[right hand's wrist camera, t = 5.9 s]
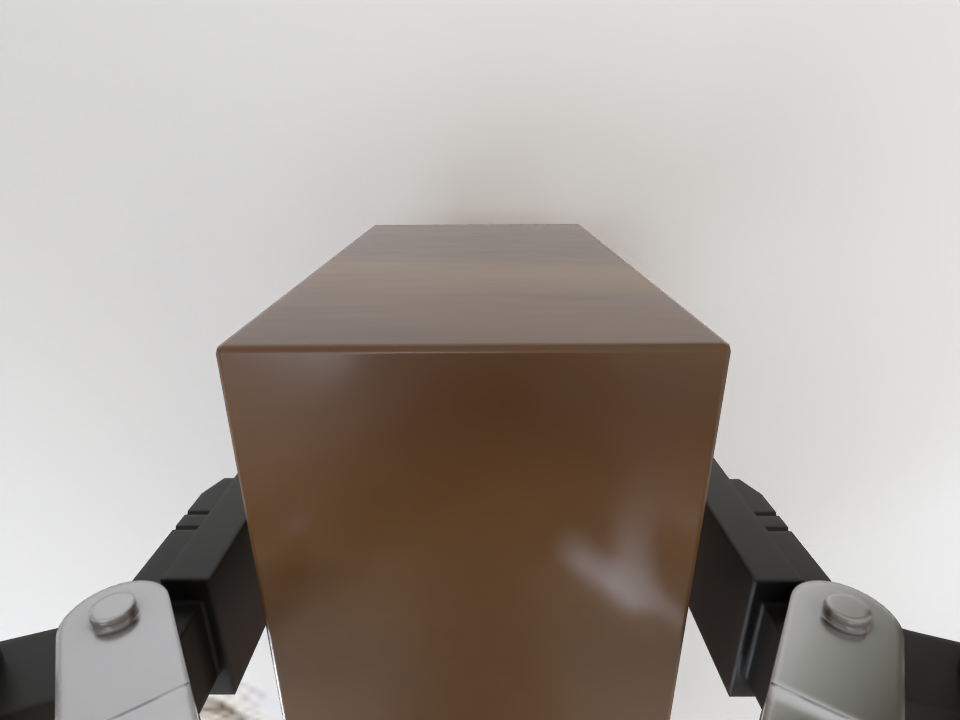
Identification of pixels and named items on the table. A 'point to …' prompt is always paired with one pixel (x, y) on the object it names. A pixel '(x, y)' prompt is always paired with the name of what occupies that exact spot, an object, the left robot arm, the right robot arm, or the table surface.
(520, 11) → the table surface
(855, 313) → the table surface
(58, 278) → the table surface
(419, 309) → the box
